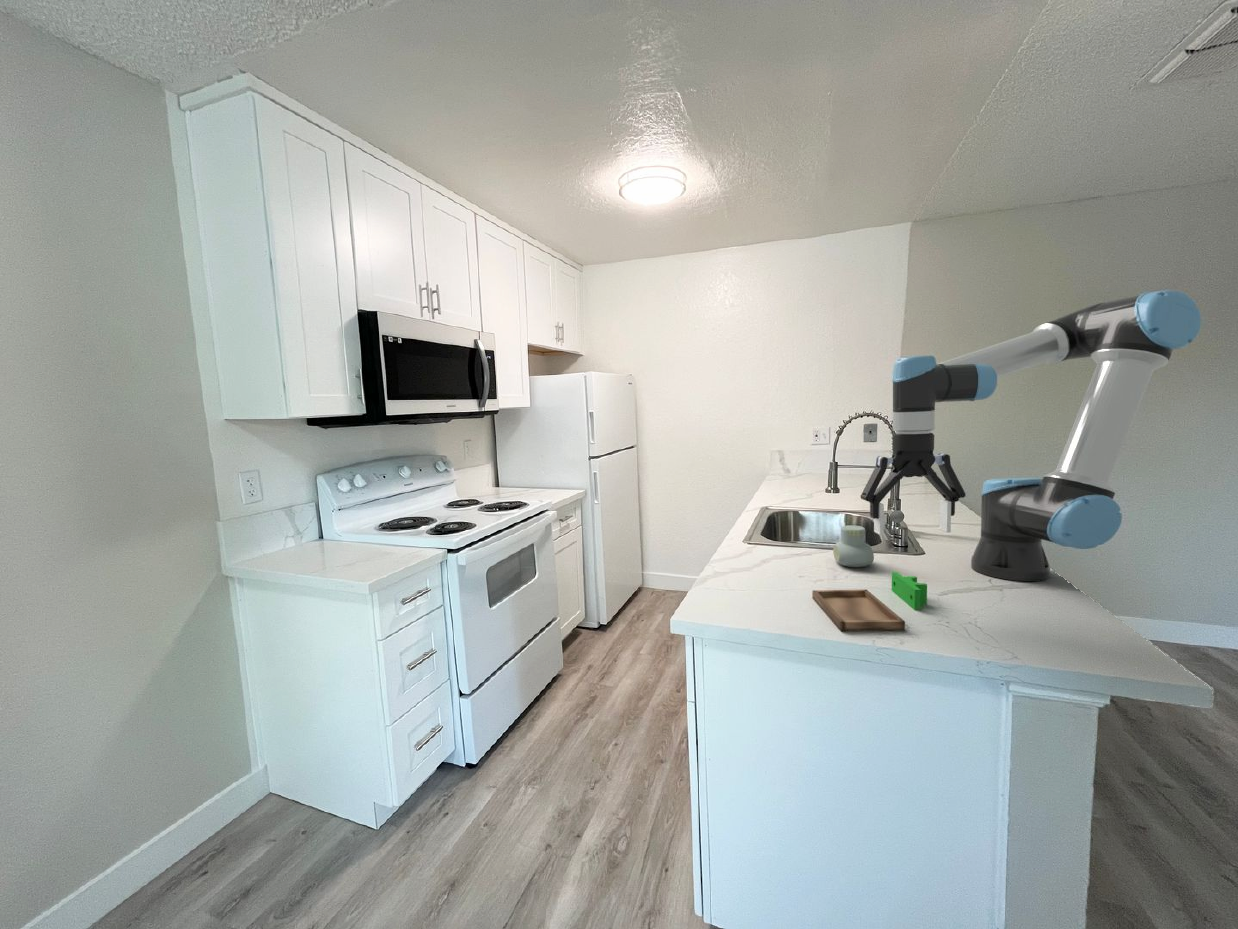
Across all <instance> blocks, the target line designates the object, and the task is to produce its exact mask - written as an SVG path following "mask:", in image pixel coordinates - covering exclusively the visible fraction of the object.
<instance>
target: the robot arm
mask: <svg viewBox="0 0 1238 929" xmlns="http://www.w3.org/2000/svg"><path fill="white" fill-rule="evenodd" d="M1201 326H1202V314H1201V312H1200V308H1199V307H1198V306H1197V303H1196V302H1195V300H1194V299H1193V298H1192V297H1191V296H1189V295H1188V294H1186V293H1184V292H1182V291H1180V290H1174V289H1163V290H1158V291H1146V292H1144V293H1141V294H1138V295H1133V296H1129V297H1125V298H1121V299H1115V300H1111V301H1110V300H1109V301H1107V302H1099V303H1096V304H1092V305H1090V306H1086V307H1084V308H1082V309H1078V310H1076V311H1073V312H1071V313H1069V314H1067V315H1064V316H1062V317H1058V318H1056V319H1054V320H1051V321H1048V322H1046V323H1045V322H1044V323H1042V324H1040V325H1037V326H1036V327H1035V328H1034V329H1033V331H1032V332H1029V333H1026V334H1023V335H1020V336H1017V337H1014V338H1011V339H1008V340H1005V341H1002V342H999V343H996V344H993V345H990V346H987V347H984V348H981V349H978V350H977V349H976V350H975V351H971V352H968V353H965V354H963V355H959V356H956V357H954V358H950V359H948V360H945V361H941V362H938V363H937V360H936V357H935V356H934V355H918V356H915V355H914V356H906V357H901V358H900V357H899V358H898V359H896V360H895V361H894V364H893V369H892V379H891V382H892V431H893V432H895V433H894V434H893V435H892V438H891V439H892V440H891V441H892V443H891V444H892V445H891V448H892V456H891V457H887V456H881V455H879V456H877V457H876V460H875V461H876V462H875V467H874V469H873V471H872V473H871V475H870V477H869V478H868V480H867V483H866V485H865V487H864V488H863V491H862V492H861V494H860V499H861V500H863V501H865V502H868V503H869V516H870V518H872V519H873V532H874V533H876V534H878V535H880V536H884V531H885V529H884V528H885V521H884V520H885V517H884V516H885V504H884V503H882V501H883V500H884V499H885V497H886V496H887V495H888V494H889V493H890V492H891V490H892V489H893V488H894V487H895V485H896V484H898V482H899V481H901V480H902V479H904V478H912V477H918V478H922V477H924V478H926V480H928V482H929V483H930V484H931V486H933V487H934V488H935V489H936V491H937V492H939V494H940V495H941V496H942V498H943V499H939V520H938V521H939V522H938V523H939V526H938V527H939V530H940V531H942V532H945V533H947V534H949V533H951V532H952V531H951V530H952V528H951V527H952V526H951V525H952V517H954V516H955V514H956V503H957V502H959V499H961V498H962V499H963V498H965V497H966V492H965V490H964V487H963V486H962V484H961V482H960V480H959V478H958V477H957V475H956V473H955V471H954V469H953V467H952V464H951V456H950V454H949V453H948V454H946V453H937V455H934V449H935V434H934V433H933V432H932V431H934V430H935V429H936V428H935V427H936V426H935V425H936V424H935V421H936V419H935V417H936V416H935V415H936V403H942V402H943V403H946V402H952V403H953V402H975V401H982V400H985V399H986V400H987V399H989V397H991V396H992V395H993V393H994V392H995V391H996V388H997V386H998V378H1001V377H1004V376H1007V375H1010V374H1013V373H1017V372H1019V371H1022V370H1025V369H1029V368H1032V367H1035V366H1038V365H1040V364H1047V365H1052V364H1058V363H1061V362H1063V361H1068V360H1069V361H1070V360H1076V359H1085V358H1091V359H1092V360H1093V362H1095V363H1096V366H1095V369H1094V372H1093V374H1092V377H1091V379H1090V382H1089V385H1088V387H1087V389H1086V392H1085V394H1084V396H1083V400H1082V402H1081V405H1080V407H1079V410H1078V412H1077V415H1076V417H1075V420H1074V422H1073V425H1072V428H1071V430H1070V433H1069V435H1068V438H1067V441H1066V443H1065V445H1064V448H1063V450H1062V453H1061V455H1060V457H1059V461H1058V464H1057V466H1056V469H1055V470H1054V471H1051V472H1050V473H1046V474H1045V475H1043V478H1040V477H1015V478H1014V477H1012V478H1009V477H1008V478H991V479H987V480H986V481H984V482H983V485H982V490H981V495H980V496H981V507H980V508H981V509H980V510H981V511H980V512H981V513H980V514H981V515H980V537H979V541H978V543H977V545H976V547H975V549H974V552H973V555H972V556H971V559H970V560H971V561H970V562H971V563H970V568H971V569H972V570H974V571H976V572H977V573H979V574H982V575H986V576H989V577H993V578H996V579H997V578H999V579H1003V580H1009V581H1016V582H1018V581H1019V582H1041V581H1040V580H1042V581H1046V580H1048V579H1050V578H1051V577H1050V576H1051V567H1050V566H1051V565H1050V564H1049V561H1048V559H1047V556H1046V553H1045V549H1044V547H1043V545H1042V544H1043V543H1042V542H1043V541H1046V542H1049V543H1054V544H1056V545H1058V546H1062V547H1067V548H1074V549H1077V550H1078V549H1079V550H1089V549H1094V548H1097V547H1098V546H1101V545H1105V544H1106V543H1107V542H1109V541H1110V540H1112V538H1113V537H1114V536H1116V534H1117V532H1118V531H1119V529H1120V527H1121V525H1122V521H1123V520H1122V519H1123V514H1122V513H1121V512H1120V511H1121V506H1120V505H1119V503H1118V502H1117V501H1115V500H1114V497H1115V495H1116V490H1115V489H1114V487H1112V485H1111V484H1110V480H1111V477H1112V475H1113V473H1114V470H1115V468H1116V465H1117V463H1118V460H1119V458H1120V455H1121V452H1122V450H1123V447H1124V445H1125V442H1126V439H1127V437H1128V435H1129V433H1130V431H1131V428H1132V425H1133V422H1134V420H1135V418H1136V415H1137V412H1138V410H1139V408H1140V405H1141V402H1142V400H1143V397H1144V395H1145V393H1146V390H1147V387H1148V385H1149V383H1150V380H1151V377H1152V375H1153V373H1154V371H1156V370H1157V369H1160V368H1162V367H1164V366H1166V365H1168V363H1169V361H1170V358H1171V357H1172V354H1173V351H1174V350H1178V349H1182V348H1183V347H1186V346H1188V345H1189V344H1190V343H1192V342H1194V341H1195V339H1196V338H1198V335H1199V333H1200V331H1201ZM934 463H935V464H936V465H937V466H938V468H939V471H940V472H941V474H942V476H943V477H944V480H945V482H946V484H947V485H946V484H945V483H944V482H943V480H942V479H941V478H940V476H938V474H937V472H935V470H934V469H933V468H932V466H933V465H935V464H934ZM891 465H892V467H893V468H892V469H891V470H890V471H889V473H888V475H887V477H886V478H885V479H884V480H883V481H882V479H883V478H884V476H885V473H886V471H887V468H889V467H890V466H891ZM881 481H882V483H881ZM1042 540H1043V541H1042ZM1047 578H1048V579H1047ZM1045 579H1046V580H1045Z"/></svg>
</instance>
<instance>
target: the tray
mask: <svg viewBox="0 0 1238 929" xmlns="http://www.w3.org/2000/svg"><path fill="white" fill-rule="evenodd" d="M811 591H812V593H811V594H812V600H813V601H814V603H816V604H817V605H818V607H819V608H820V609H821V610H822V611H823V613H825V616H827V618H829V619H830V621H831V622H832V623H833V624H834V625H835V626H836V628H837V629H838V630H839V631H840V632H904V631H906V620H904V619H903V618H901V616H899V615H898V614H897V613H895V612H894V611H893V610H892V609H891V608H889V607H888V605H886V604H885V603H883V602H882V600H880V599H879V598H878V597H876V596H875V595H874V594H872V592H870V591H869V590H868V589H826V590H825V589H822V590H818V589H817V590H814V589H813V590H811Z"/></svg>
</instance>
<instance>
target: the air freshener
mask: <svg viewBox="0 0 1238 929" xmlns="http://www.w3.org/2000/svg"><path fill="white" fill-rule="evenodd" d="M832 552H833V558H834V560H835V562H836V563H838V564H840V565H841V566H844V567H847V566H848V568H864V567H867V566H869V565H871V564H872V563H874V560H875V554H874V551H873V549H872V546H871V545H870V544H868V543H866V528H865V527H864V526H861V525H854V524H853V525H842V526H841V527H840V541H839V542H836V543H835V544H833V549H832Z"/></svg>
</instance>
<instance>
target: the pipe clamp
mask: <svg viewBox="0 0 1238 929" xmlns="http://www.w3.org/2000/svg"><path fill="white" fill-rule="evenodd" d="M891 591H892V593H894V594H895V595H896V596H897V597H898V598H899V599H900V600H901V601H903V602H904V603H905V604H907V605H908V606H909V607H910V608H911V609H913V610H914V611H921V606H922V605H923V606H924V605H926V606H927V604H928V602H927V601H928V584H927V583H925V582H923V583H922V582H918V577H917V576H914V575H913V576H905V575H902V574H900V573H899V572H897V571H892V572H891Z"/></svg>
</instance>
